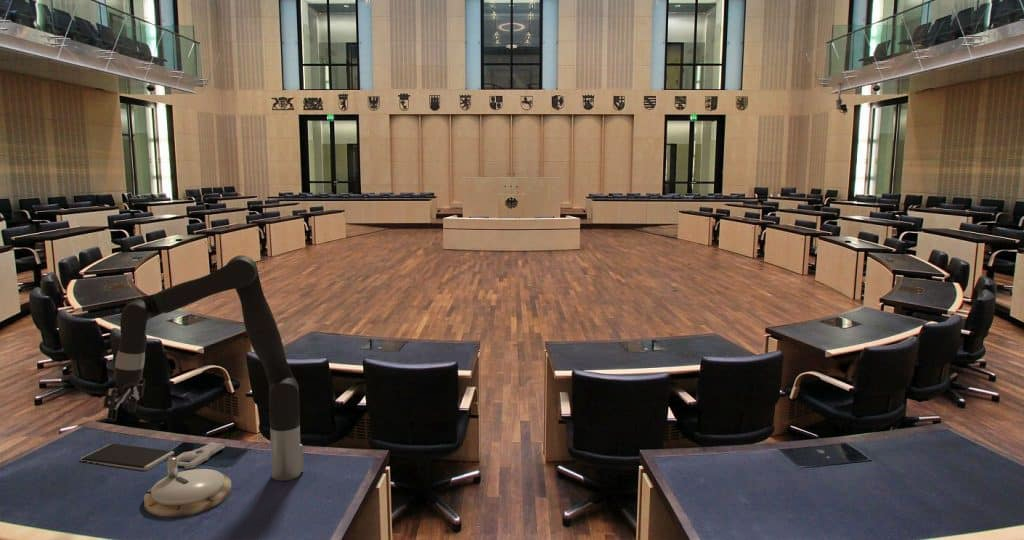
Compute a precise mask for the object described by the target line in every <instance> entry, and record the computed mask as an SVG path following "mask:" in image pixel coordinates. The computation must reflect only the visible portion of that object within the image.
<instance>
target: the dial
mask: <svg viewBox="0 0 1024 540" xmlns="http://www.w3.org/2000/svg"><path fill="white" fill-rule="evenodd" d="M166 464H167V465H166V466H167V467H166V468H167V476H166V477H164V478H161V479H159V480H158V481H157V482H156V483H155V484H154V485H153V486H152V487H151V488H152V490H151V494H152V499H153V500H154V501H155V502H156V503H158V504H162V505H169V506H177V505H186V504H191V503H196V502H199V501H202V500H205V499H207V498H209V497H211V496H213V495H215V494H216V493H218V492H219V491H220V490H221V489H222V488H223V486H224V476H223V473H221V472H220V471H217V470H215V469H209V468H208V469H207V468H196V469H195V468H193V469H188V470H187V469H186V470H183V471H178V470H179V468H178V466H177V456H171V457H169V458H168V459H166Z"/></svg>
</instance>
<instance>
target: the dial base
mask: <svg viewBox="0 0 1024 540" xmlns="http://www.w3.org/2000/svg"><path fill="white" fill-rule="evenodd" d="M222 474H223V473H222ZM223 476H224V486H223V488H222V489H221V490H220V491H219V492H218V493H216V494H215V495H213V496H211V497H209V498H207V499H205V500H202V501H199V502H196V503H191V504H186V505H177V506H169V505H162V504H158V503H156V502H155V501H154V500H153V499H152V494H151V490H152V487H150V488H149V489H148V490H146V491H145V494H144V497H143V502H144V505H143V506H144V510H146V511H147V512H148V513H149V514H151V515H155V516H159V517H173V518H174V517H182V516H189V515H193V514H197V513H201V512H204V511H207V510H209V509H211V508H214V507H215V506H217V505H219V504H221V503H223V502H224V501H225V500H226V499H228V497H229V496H230V494H231V492H232V480H231V478H230V477H229V476H227V475H226V474H223Z"/></svg>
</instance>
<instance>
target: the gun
mask: <svg viewBox="0 0 1024 540" xmlns="http://www.w3.org/2000/svg"><path fill="white" fill-rule="evenodd" d="M224 448H226V443H220V442H219V443H218V442H214V441H211V442H209V443H207V444H205V445H204V446H201V447H200V448H196V449H193V450H190V451H183V452H182V453H180V454H178V455H177V456H176V457H177V466H179V467H184V470H187V469H188V470H192V469H195V468H196V467H198V465H199V466H200V464H202V463H205V461H208V460H209V459H210V457H212V456H213V455H215V454H216V453H218V452H220V451H221V450H222V449H224Z"/></svg>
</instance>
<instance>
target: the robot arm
mask: <svg viewBox="0 0 1024 540" xmlns="http://www.w3.org/2000/svg"><path fill="white" fill-rule="evenodd" d="M231 290H236V293H237V295H238V298H239V301H240V306H241V310H242V311H241V312H242V318H243V324H244V329H245V331H246V334H247V337H248V341H249V344H250V345H251V348H252V349H253V351H254V354H255V355H256V357H257V359H259V360H258V361H260V363H261V364H262V367H263V368H264V371H265V375H266V379H267V383H268V389H269V390H268V411H269V427H270V428H269V429H270V431H269V432H270V461H271V464H270V465H271V467H270V468H271V478H272V479H273V480H275V481H280V482H281V481H282V482H283V481H284V482H286V481H291V480H294V479H297V478H298V477H299V476H301V474H302V473H303V472H304V446H303V444H302V443H301V425H300V424H301V421H300V420H301V419H300V418H301V417H300V416H301V415H300V413H301V412H300V411H301V409H300V391H299V390H300V388H299V384H298V382H297V380H296V378H295V376H294V374H293V372H292V370H291V367H290V366H289V363H288V361H287V358H286V353H285V347H284V344H283V340H282V337H281V334H280V333H281V332H280V330H279V328H278V326H277V325H278V324H277V322H276V319H275V317H274V315H273V312H272V310H271V308H270V306H269V303H268V301H267V299H266V296H265V294H264V291H263V287H262V283H261V279H260V274H259V270H258V266H257V263H256V262H255V260H253V259H252V258H251V257H249V256H248V255H236V256H234V257H233V258H231V259H230V260H229V261H227V263H226V264H225V265H224V266H222V267H220V268H219V269H216V270H215V271H214V272H211V273H209V274H207V275H204V276H201V277H197V278H195V279H191V280H188V281H184V282H181V283H178V284H175V285H173V286H170V287H168V288H165V289H162V290H160V291H157V292H156V293H152V294H149V295H147V296H142V297H141V298H140V297H139V298H137V299H135V300H133V301H131V302H129V303H128V304H127V305H125V306H124V308H123V309H122V311H121V313H120V321H119V322H120V323H119V326H120V327H119V328H120V339H119V343H118V348H117V349H118V351H117V353H116V357H115V363H114V368H113V369H114V370H113V375H112V380H113V381H114V382H115V386H114V387H112V388H110V387H108V388H107V389H106V391H105V395H104V402H103V405H102V407H103V408H104V409H108V412H107V420H108V421H110V422H115V421H117V417H118V416H117V415H118V408H119V407H120V404H122V403H124V401H125V399H127V398H128V399H129V400H128V405H127V412H129V413H135V412H137V405H138V401H139V400H140V398H143V397H144V393H145V387H146V379H145V378H143V374H144V373H143V372H144V367H145V361H146V349H147V348H146V347H147V341H148V339H147V338H148V336H147V334H146V330H147V323H148V320H151V319H153V318H155V317H157V316H160V315H163V314H169V313H172V312H175V311H177V310H179V309H182V308H184V307H187V306H190V305H192V304H194V303H196V302H199V301H200V300H203V299H205V298H208V297H210V296H213V295H216V294H219V293H223V292H227V291H231ZM301 472H302V473H301Z"/></svg>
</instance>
